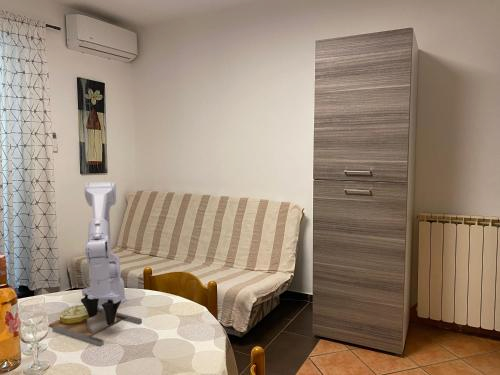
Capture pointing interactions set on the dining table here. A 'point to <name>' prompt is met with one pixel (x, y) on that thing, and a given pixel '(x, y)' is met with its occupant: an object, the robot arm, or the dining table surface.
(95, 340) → the rails
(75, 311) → the decorated donut
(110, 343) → the dining table surface
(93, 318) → the brown square board
